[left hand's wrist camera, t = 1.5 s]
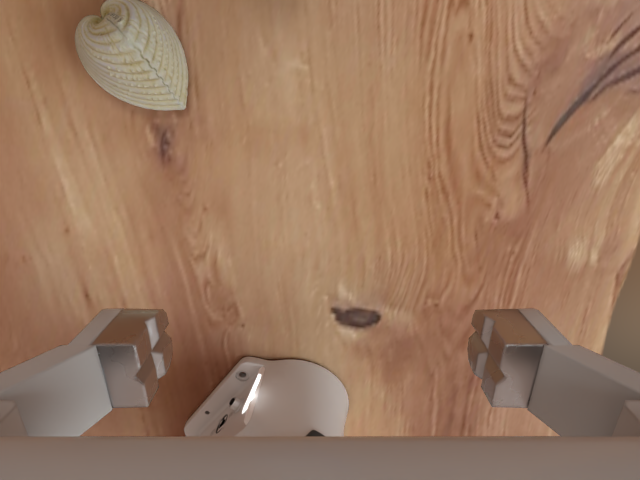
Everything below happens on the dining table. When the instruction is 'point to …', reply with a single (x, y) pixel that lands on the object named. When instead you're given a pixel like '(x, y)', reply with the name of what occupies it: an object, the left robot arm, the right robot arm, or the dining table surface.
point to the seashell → (134, 55)
